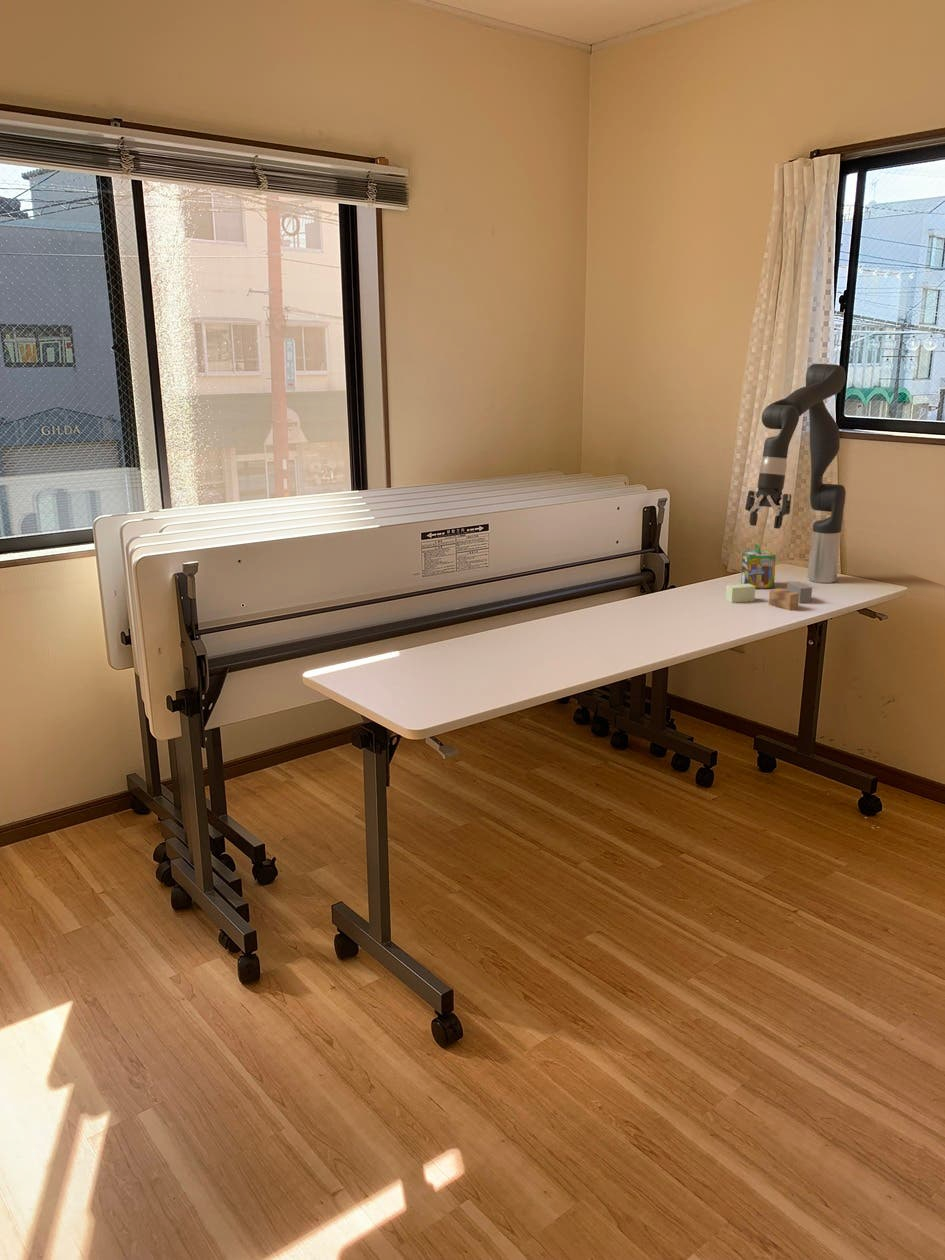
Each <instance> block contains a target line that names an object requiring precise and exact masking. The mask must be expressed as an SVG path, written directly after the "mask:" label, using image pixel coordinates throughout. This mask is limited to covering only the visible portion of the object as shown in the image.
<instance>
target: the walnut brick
mask: <svg viewBox="0 0 945 1260" xmlns="http://www.w3.org/2000/svg"><path fill="white" fill-rule="evenodd" d="M798 600H799V593H796V592H792V591H787V589H783V588H772V589H770V590H769V597H768V605H769V606H770V605H771V606H770V607H774V606H775V607H774V608H778V609H781V610H787V611H793V610H797V609H799V603H798Z"/></svg>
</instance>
